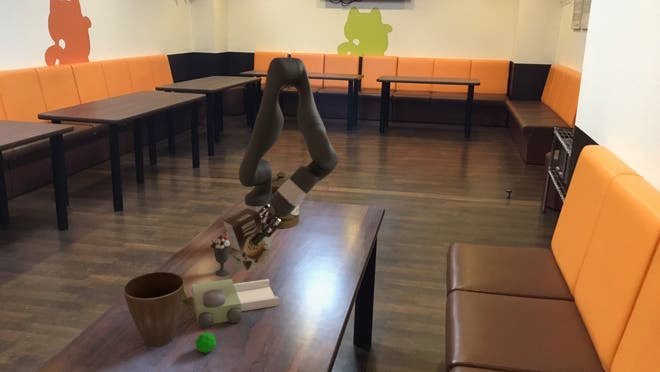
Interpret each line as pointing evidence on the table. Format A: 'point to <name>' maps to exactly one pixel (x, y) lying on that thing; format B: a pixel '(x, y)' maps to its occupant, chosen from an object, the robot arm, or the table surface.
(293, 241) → the table surface
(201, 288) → the toy front loader
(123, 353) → the table surface
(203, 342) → the polyhedron
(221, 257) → the sundae
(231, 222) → the coffee box
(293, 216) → the wooden container
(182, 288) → the plant pot
